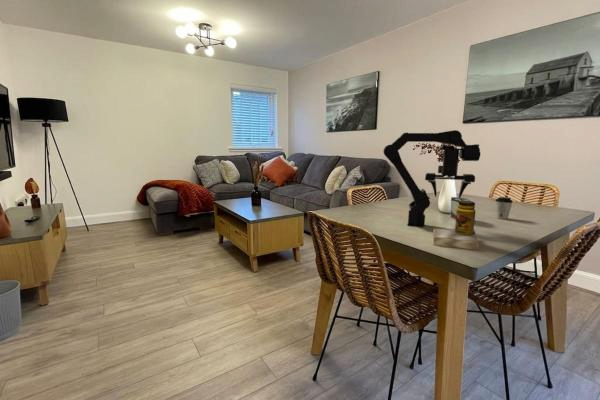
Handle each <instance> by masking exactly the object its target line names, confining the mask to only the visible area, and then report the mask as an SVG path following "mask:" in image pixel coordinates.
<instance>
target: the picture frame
mask: <svg viewBox="0 0 600 400" xmlns="http://www.w3.org/2000/svg"><path fill="white" fill-rule="evenodd" d="M432 240H433V242H432V244H433V246H434V245H435V246H440V245H441V247H449V248H459V249H467V250H477V251H479V244H480V242H479V240H478V238H477V236H476V237H474V236H463V235H456V234H453V229H443V228H433V231H432Z"/></svg>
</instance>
